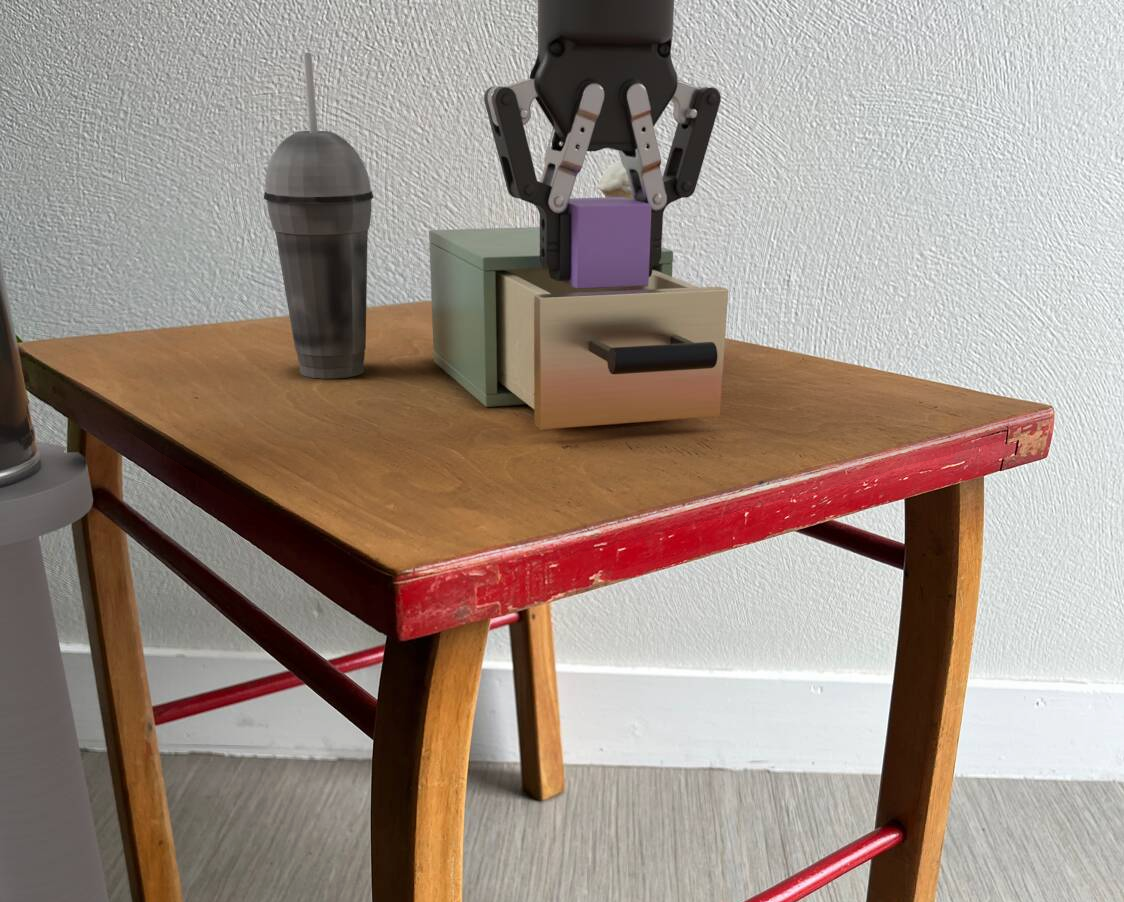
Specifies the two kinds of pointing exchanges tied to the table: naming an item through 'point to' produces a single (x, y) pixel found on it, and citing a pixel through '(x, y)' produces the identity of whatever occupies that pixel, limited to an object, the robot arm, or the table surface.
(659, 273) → the wooden drawer
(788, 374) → the table surface
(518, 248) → the drawer cabinet
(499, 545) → the table surface
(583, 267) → the purple cube
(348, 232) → the beverage cup
